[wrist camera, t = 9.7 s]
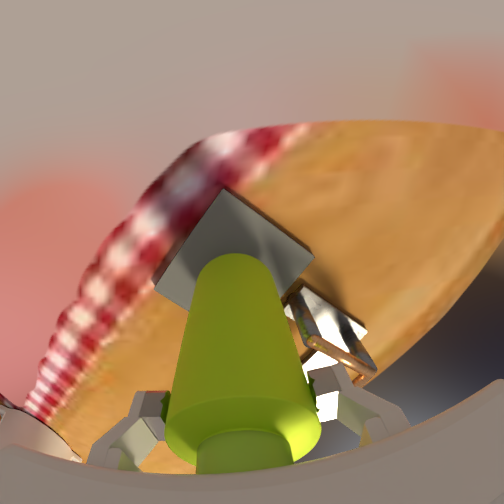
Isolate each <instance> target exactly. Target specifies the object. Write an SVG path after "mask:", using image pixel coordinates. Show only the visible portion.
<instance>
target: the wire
mask: <svg viewBox="0 0 504 504" xmlns="http://www.w3.org/2000/svg"><path fill="white" fill-rule="evenodd" d="M283 309H284V312H285V315H286V316H288V317H290V318H291V319H293V320H294V321H295V322H296V325H297V327H298V330H299V333H300V335H301V338H302V341H303V343H304V345H305V346H306V347H308V348H313V349H315V350H314V351H313V352H312V353H310V354H309V355H308V356H307V357H306V358H305V359H304V360H303V361H302V362H301V364H302V367H303V370H304V373H305V376H306V379H307V371H308V370H312V369H316V368H320V367H324V366H328V365H332V364H336V363H337V362H341V363H343V365H344V366H346V367H348V368H350V369H352V370H354V371H356V372H358V373H360V374H359V375H358V376H357V377H356V378H355V379H354V380H353V381H352V383H353V385H354V387H357V386H358V387H360V388H361V387H362V386H363V385H364V384H366V383H367V382H368V381H369V380H370V379H371V378H372V377H373V376H374V375H375V373H376V372H377V367H376V365H375V364H374V362H373V360H372V359H371V357H370V356H369V354H368V352H367V351H366V349H365V348H364V346H363V345H362V343H361V341H360V339H361V338H362V337H363V336H364V335H365V334H366V333H367V332H368V331H367V329H366V328H365V327H363V326H362V325H360V324H359V323H358V322H356V321H355V320H353V319H352V318H351V317H349V316H348V315H346V314H345V313H343V312H342V311H341V310H339V309H338V308H336V307H335V306H334V305H332V304H331V303H329V302H328V301H326V300H325V299H324V298H322V297H321V296H319V295H318V294H316V293H315V292H314V291H312V290H311V289H309V288H308V287H307V286H305V285H304V284H302V285H301V286H300V287H299V288H298V289H297V290H296V292H294V293H292V294H290V295H289V297H288V301H287V302H286V303H285V304H284V305H283ZM348 351H349V352H350V353H348ZM307 382H308V379H307ZM308 383H309V382H308Z"/></svg>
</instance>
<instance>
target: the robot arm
mask: <svg viewBox="0 0 504 504" xmlns="http://www.w3.org/2000/svg"><path fill="white" fill-rule="evenodd" d="M307 379H308V382H309V383H308V385H309V388H310V391H311V395H312V398H313V401H314V404H315V407H316V410H317V413H318V416H319V420H320V422H322V421H326V420H330V419H334V418H337V419H338V420H339V421H340V422H342V423H343V424H344V425H346V426H347V427H348V428H350V429H351V430H352V431H354V432H355V433H357V434H358V435H359V436H361V441H360V444H359V448H356V449H352V450H349V451H346V452H342V453H339V454H335V455H332V456H328V457H324V458H320V459H316V460H312V461H308V462H302V463H298V464H292V465H287V466H281V467H275V468H269V469H262V470H254V471H245V472H234V473H220V474H159V473H145V472H142V471H141V470H140V469H139V468H138V466H139V465H140V464H141V463H142V461H143V460H144V459H145V458H146V457H147V455H148V454H149V453H150V452H151V450H152V449H153V448H154V447H155V445H156V444H157V443H158V441H166V440H165V436H164V429H165V424H166V418H167V413H168V407H169V402H170V397H171V394H170V392H169V391H137V392H136V393H135V395H134V398H133V402H132V405H131V408H130V411H129V414H128V417H124V418H123V419H122V420H121V421H120V422H119V423H117V424H116V425H115V426H114V427H113V428H112V429H110V430H109V431H108V432H107V433H106V434H104V435H103V436H102V437H101V438H100V439H98V440H97V441H96V442H95V443H94V444H93V445H92V448H91V451H90V454H89V457H88V460H87V463H86V464H84V463H81V462H82V459H81V458H80V457H79V456H78V455H76V454H75V453H74V452H73V451H72V450H71V449H70V447H69V446H68V445H67V444H66V443H65V442H64V441H63V440H62V439H61V438H60V437H59V436H58V435H57V434H56V433H54V432H53V431H52V430H51V429H49V428H48V427H47V426H45V425H44V424H42V423H41V422H40V421H38V420H36V419H35V418H33V417H32V416H30V415H28V414H26V413H24V412H22V411H19V410H16V409H9V408H7V407H5V406H3V405H0V415H1V417H2V419H1V421H0V504H504V379H498V380H495V381H494V382H492V383H490V384H489V385H488V386H486V387H484V388H483V389H481V390H480V391H478V392H477V393H475V394H474V395H472V396H470V397H469V398H467V399H465V400H464V401H462V402H460V403H459V404H457V405H455V406H453V407H451V408H450V409H448V410H446V411H444V412H442V413H440V414H438V415H436V416H434V417H433V418H430V419H428V420H427V421H424V422H422V423H420V424H418V425H416V426H413V427H411V426H410V424H409V422H408V420H407V419H406V417H405V415H404V413H403V412H402V410H401V408H400V407H398V406H396V405H394V404H392V403H390V402H388V401H386V400H384V399H382V398H379V397H378V396H376V395H374V394H372V393H370V392H368V391H365V390H364V389H362V388H360V387H358V386H357V387H354V385H353V383H352V381H351V379H350V377H349V375H348V373H347V371H346V369H345V367H344V365H343V363H341V362H339V363H336V364H332V365H328V366H324V367H320V368H316V369H312V370H308V371H307Z"/></svg>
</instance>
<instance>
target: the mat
mask: <svg viewBox="0 0 504 504" xmlns="http://www.w3.org/2000/svg"><path fill="white" fill-rule="evenodd" d="M231 253H240V254H246V255H249V256H252V257H254V258H256V259H258V260H259V261H261V262H262V263H263V264H264V265H265V266H266V267H267V268H268V269H269V271H270V272H271V274H272V276H273V279H274V282H275V285H276V288H277V291H278V294H279V297H280V298H281V297H282V295H283V294H284V293H285V292H286V291H287V290H288V288H289V287H290V286H291V285H292V284H293V283H294V281H295V280H296V279H297V278H298V277H299V276H300V274H301V273H302V272H303V271H304V270H305V268H306V267H307V266H308V265H309V264H310V262H311V261H312V260H313V259H314V258H315V257H314V255H313V254H311V253H310V252H309V251H307V250H306V249H305V248H304V247H302V246H301V245H300V244H298V243H297V242H296V241H294V240H293V239H292V238H290V237H289V236H288V235H286V234H285V233H284V232H282V231H281V230H280V229H278V228H277V227H276V226H274V225H273V224H272V223H270V222H269V221H268V220H266V219H265V218H264V217H262V216H261V215H260V214H258V213H257V212H256V211H254V210H253V209H251V208H250V207H249V206H247V205H246V204H245V203H243V202H242V201H240V200H239V199H238V198H236V197H235V196H234V195H232V194H231V193H229V192H228V191H227V190H225V189H224V188H223V189H222V191H221V192H220V193H219V195H218V196H217V197H216V199H215V200H214V201H213V203H212V204H211V206H210V207H209V208H208V210H207V211H206V212H205V214H204V215H203V217H202V218H201V220H200V221H199V222H198V224H197V225H196V227H195V228H194V229H193V231H192V232H191V234H190V235H189V237H188V238H187V240H186V241H185V242H184V244H183V245H182V247H181V248H180V250H179V251H178V253H177V254H176V256H175V257H174V259H173V260H172V262H171V263H170V265H169V266H168V268H167V269H166V271H165V272H164V274H163V275H162V277H161V278H160V280H159V281H158V283H157V284H156V286H155V288H154V290H155V291H157V292H158V293H160V294H161V295H163V296H165V297H166V298H168V299H169V300H171V301H172V302H174V303H176V304H177V305H179V306H180V307H182V308H184V309H185V310H187V311H189V310H190V306H191V302H192V298H193V294H194V290H195V286H196V282H197V278H198V276H199V274H200V272H201V270H202V269H203V268H204V267H205V265H206V264H208V263H209V262H210V261H211V260H213V259H215V258H217V257H219V256H222V255H225V254H231Z"/></svg>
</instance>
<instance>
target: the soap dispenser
mask: <svg viewBox="0 0 504 504" xmlns="http://www.w3.org/2000/svg"><path fill="white" fill-rule="evenodd" d="M320 435H321V423H320V420H319V416H318V413H317V410H316V407H315V404H314V401H313V398H312V395H311V391H310V388H309V385H308V382H307V379H306V376H305V373H304V370H303V367H302V364H301V361H300V358H299V354H298V351H297V348H296V345H295V342H294V339H293V336H292V333H291V330H290V327H289V324H288V321H287V318H286V315H285V312H284V309H283V306H282V303H281V300H280V297H279V294H278V291H277V288H276V285H275V282H274V279H273V276H272V274H271V272H270V271H269V269H268V268H267V267H266V266H265V265H264V264H263V263H262V262H261V261H259V260H258V259H256V258H254V257H252V256H249V255H246V254H240V253H231V254H225V255H222V256H219V257H217V258H215V259H213V260H211V261H210V262H209V263H208V264H206V265H205V267H204V268H203V269H202V270H201V272H200V274H199V276H198V278H197V282H196V286H195V290H194V294H193V298H192V302H191V306H190V310H189V314H188V319H187V323H186V327H185V331H184V336H183V340H182V345H181V349H180V354H179V358H178V363H177V368H176V372H175V377H174V382H173V387H172V392H171V397H170V402H169V407H168V413H167V418H166V424H165V429H164V436H165V440H166V443H167V445H168V446H169V448H170V449H171V450H172V451H173V452H174V453H175V454H176V455H177V456H178V457H180V458H181V459H183V460H184V461H186V462H188V463H190V464H192V465H194V466H196V474H220V473H234V472H245V471H254V470H262V469H269V468H275V467H281V466H287V465H292V464H294V461H296V460H298V459H299V458H301V457H303V456H304V455H306V454H307V453H308V452H309V451H310V450H311V449H312V448H313V447H314V446H315V445H316V443H317V442H318V440H319V437H320Z"/></svg>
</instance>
